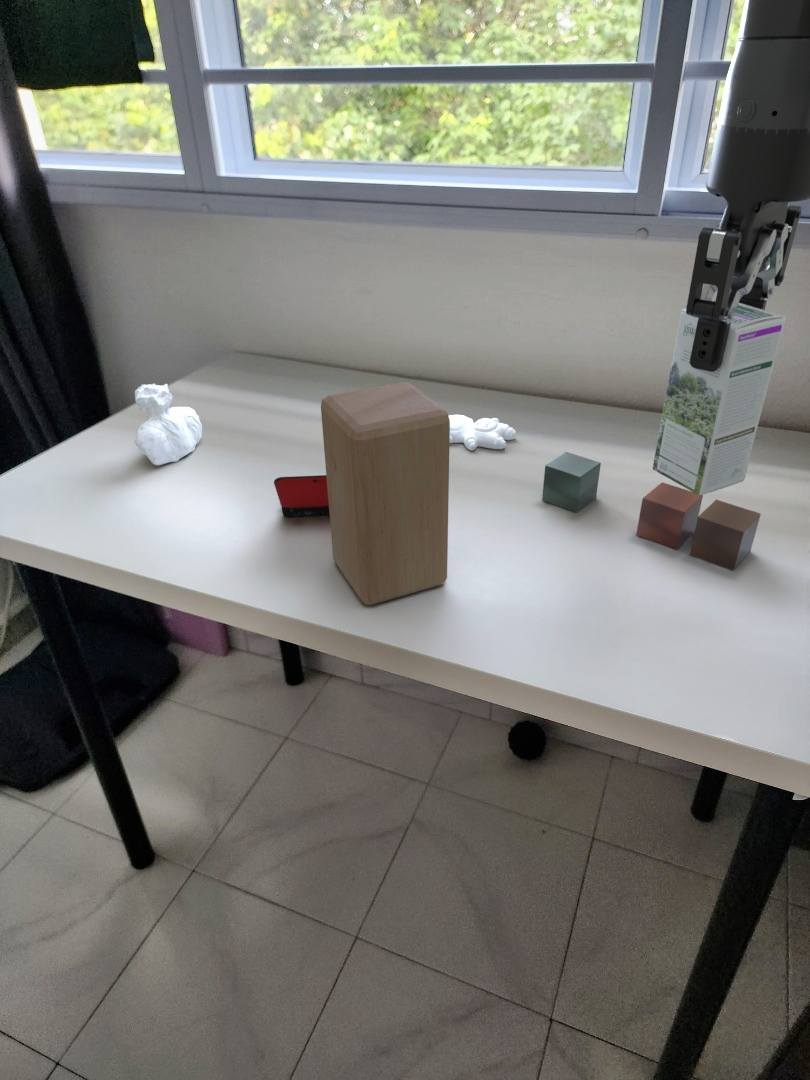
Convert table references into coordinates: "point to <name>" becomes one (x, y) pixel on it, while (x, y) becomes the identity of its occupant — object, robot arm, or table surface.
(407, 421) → the wooden block
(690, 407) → the syrup box
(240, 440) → the table surface
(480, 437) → the astronaut figurine
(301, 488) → the handheld console
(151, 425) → the bust
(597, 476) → the block line
